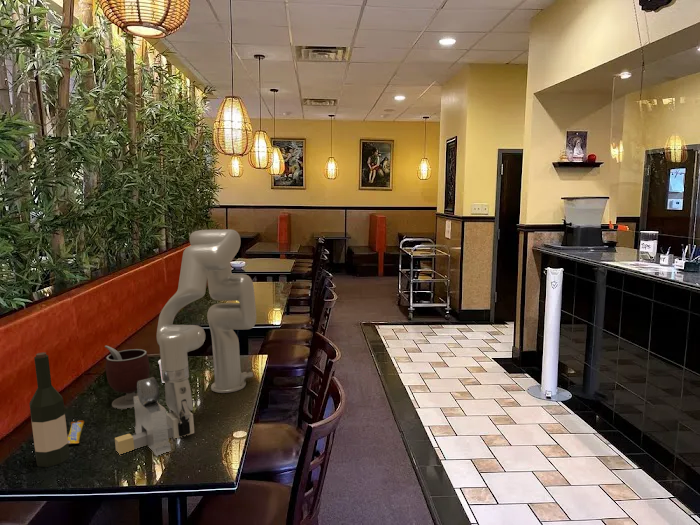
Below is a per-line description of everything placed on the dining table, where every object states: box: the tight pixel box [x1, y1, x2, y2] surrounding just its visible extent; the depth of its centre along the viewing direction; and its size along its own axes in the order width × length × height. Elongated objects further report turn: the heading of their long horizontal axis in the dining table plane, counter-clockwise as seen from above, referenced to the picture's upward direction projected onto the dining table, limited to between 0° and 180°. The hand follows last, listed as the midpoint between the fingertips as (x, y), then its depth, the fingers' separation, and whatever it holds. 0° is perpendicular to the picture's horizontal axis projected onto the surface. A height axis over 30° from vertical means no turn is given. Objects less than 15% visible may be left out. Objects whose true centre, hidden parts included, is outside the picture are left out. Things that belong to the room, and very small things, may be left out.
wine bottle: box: [28, 352, 71, 468], centre depth 139 cm, size 8×8×30 cm
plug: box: [114, 410, 195, 456], centre depth 149 cm, size 21×6×6 cm, turn 129°
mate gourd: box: [104, 345, 151, 410], centre depth 178 cm, size 16×14×20 cm
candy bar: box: [67, 420, 85, 445], centre depth 155 cm, size 17×4×2 cm, turn 21°
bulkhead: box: [133, 376, 172, 457], centre depth 147 cm, size 4×19×19 cm, turn 39°
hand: (180, 430), depth 154 cm, fingers closed on plug, 5 cm apart
